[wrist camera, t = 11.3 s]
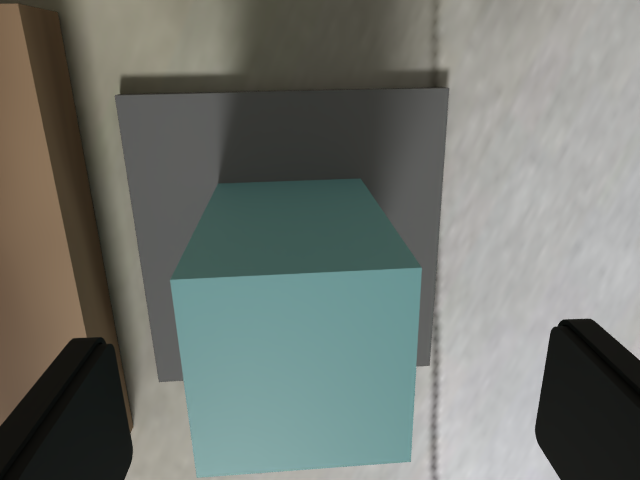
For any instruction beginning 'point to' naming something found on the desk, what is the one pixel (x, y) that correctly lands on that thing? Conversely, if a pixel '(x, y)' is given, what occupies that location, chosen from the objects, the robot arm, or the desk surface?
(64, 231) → the pocket plate
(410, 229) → the mat
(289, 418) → the block
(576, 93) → the desk surface
